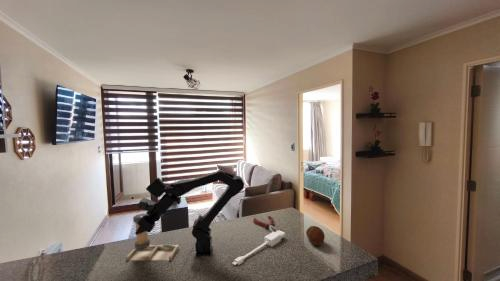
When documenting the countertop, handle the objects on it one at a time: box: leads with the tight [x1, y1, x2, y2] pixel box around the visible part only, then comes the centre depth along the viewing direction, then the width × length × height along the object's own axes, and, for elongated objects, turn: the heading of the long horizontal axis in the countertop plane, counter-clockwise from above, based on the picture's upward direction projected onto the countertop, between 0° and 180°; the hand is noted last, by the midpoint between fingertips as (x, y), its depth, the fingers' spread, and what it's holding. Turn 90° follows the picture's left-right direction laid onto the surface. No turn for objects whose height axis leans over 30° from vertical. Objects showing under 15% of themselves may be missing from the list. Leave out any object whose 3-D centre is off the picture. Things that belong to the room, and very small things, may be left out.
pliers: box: [253, 215, 278, 233], centre depth 123 cm, size 12×20×3 cm, turn 19°
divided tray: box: [125, 243, 180, 261], centre depth 96 cm, size 19×9×3 cm, turn 89°
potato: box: [305, 225, 325, 247], centre depth 105 cm, size 8×12×8 cm, turn 16°
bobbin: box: [132, 213, 151, 249], centre depth 95 cm, size 6×6×13 cm
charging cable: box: [231, 230, 286, 266], centre depth 100 cm, size 5×32×3 cm, turn 135°
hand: (138, 231), depth 94 cm, fingers closed on bobbin, 5 cm apart
